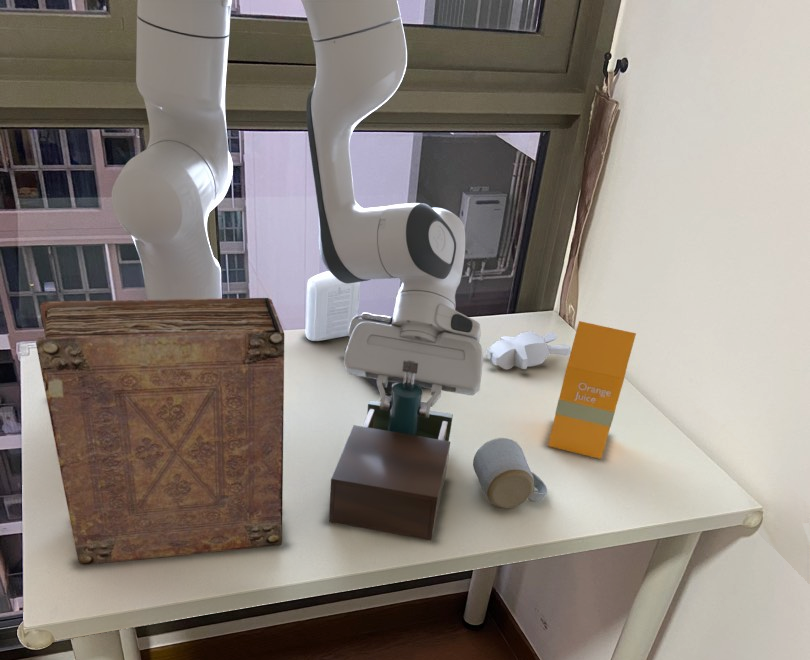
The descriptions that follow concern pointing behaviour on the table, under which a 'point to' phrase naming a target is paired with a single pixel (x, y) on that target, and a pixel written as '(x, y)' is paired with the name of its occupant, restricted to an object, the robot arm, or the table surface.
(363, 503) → the cabinet
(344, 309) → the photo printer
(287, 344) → the table surface
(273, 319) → the book
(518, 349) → the bunny figurine
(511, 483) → the ceramic mug
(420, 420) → the drawer
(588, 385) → the orange juice
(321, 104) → the robot arm
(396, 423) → the cutlery cup
